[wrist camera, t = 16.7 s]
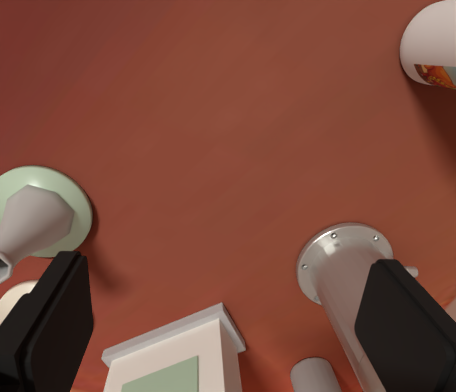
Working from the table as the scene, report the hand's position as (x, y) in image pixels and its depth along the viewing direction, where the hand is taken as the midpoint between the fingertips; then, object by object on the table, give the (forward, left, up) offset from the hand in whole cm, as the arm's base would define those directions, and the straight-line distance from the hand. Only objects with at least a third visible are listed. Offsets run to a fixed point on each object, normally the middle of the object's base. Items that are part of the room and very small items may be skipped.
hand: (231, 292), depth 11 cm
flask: (+18, +12, -27) cm, 34 cm away
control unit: (+2, +32, -28) cm, 42 cm away
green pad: (+18, +12, -28) cm, 35 cm away
